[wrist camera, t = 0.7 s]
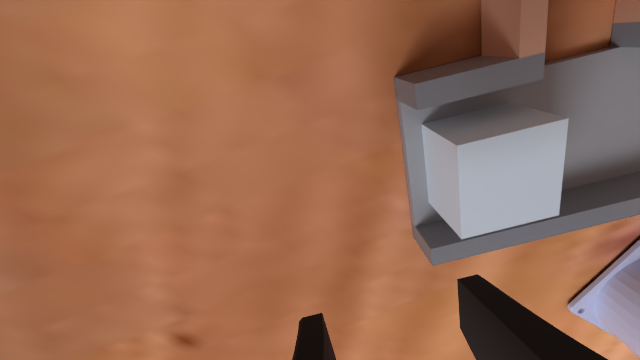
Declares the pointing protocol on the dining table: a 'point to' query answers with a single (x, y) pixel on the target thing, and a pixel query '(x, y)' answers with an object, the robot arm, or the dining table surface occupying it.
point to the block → (495, 167)
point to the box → (542, 94)
